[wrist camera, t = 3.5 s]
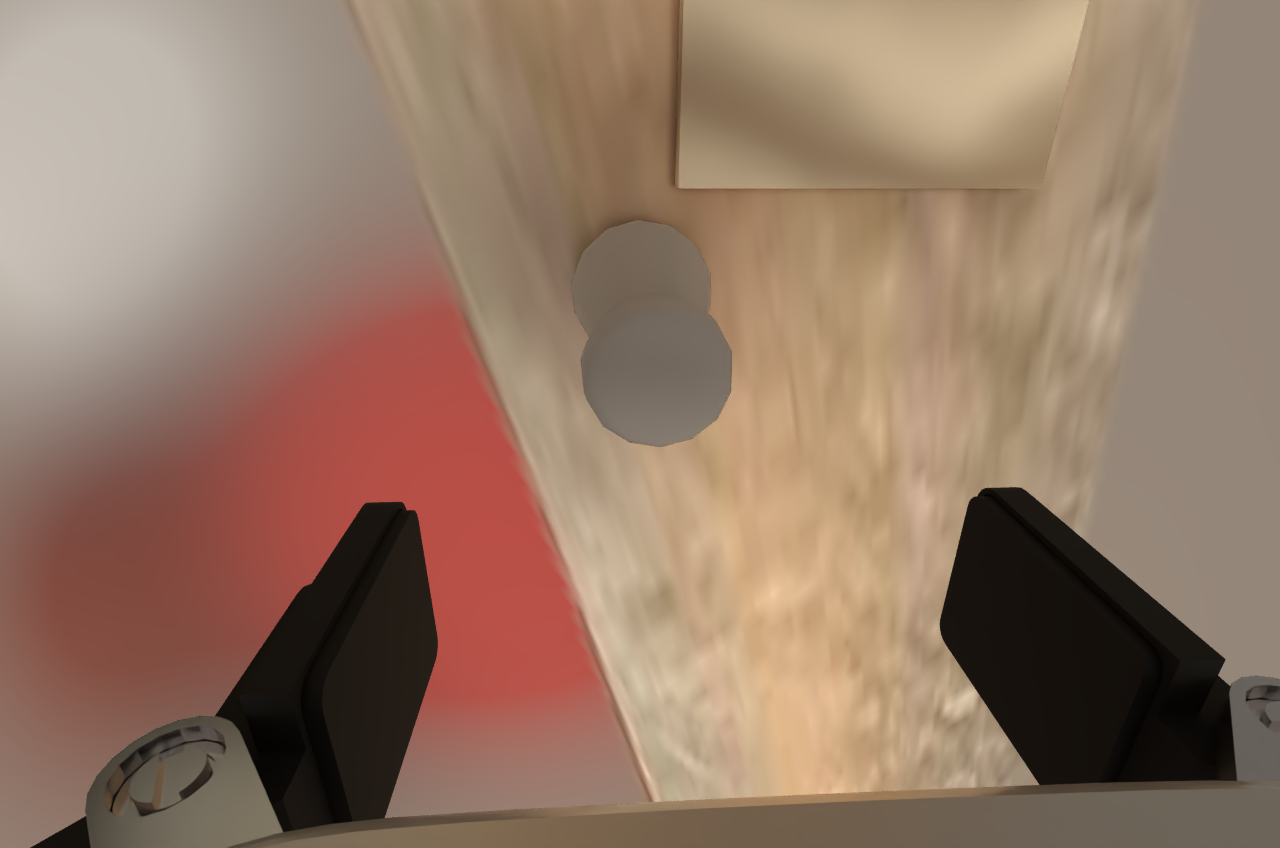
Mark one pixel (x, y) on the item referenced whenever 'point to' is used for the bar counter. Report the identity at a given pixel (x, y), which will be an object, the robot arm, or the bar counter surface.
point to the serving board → (871, 92)
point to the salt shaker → (650, 335)
